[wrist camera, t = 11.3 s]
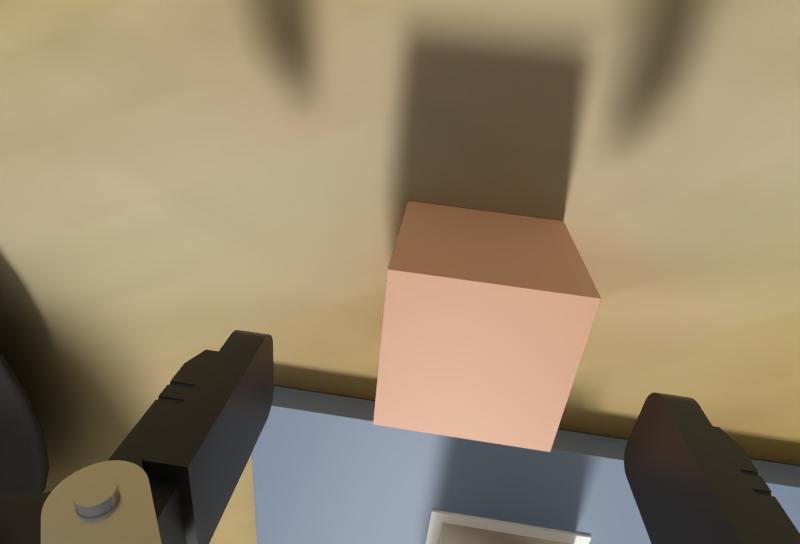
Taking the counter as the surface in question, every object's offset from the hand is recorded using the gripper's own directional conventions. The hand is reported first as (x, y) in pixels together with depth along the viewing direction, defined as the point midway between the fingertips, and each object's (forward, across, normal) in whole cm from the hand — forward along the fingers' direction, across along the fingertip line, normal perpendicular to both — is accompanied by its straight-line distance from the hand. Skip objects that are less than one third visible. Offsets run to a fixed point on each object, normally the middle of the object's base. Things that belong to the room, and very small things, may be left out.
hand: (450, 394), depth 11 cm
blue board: (+5, -4, +13) cm, 14 cm away
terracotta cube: (+6, -1, 0) cm, 6 cm away
